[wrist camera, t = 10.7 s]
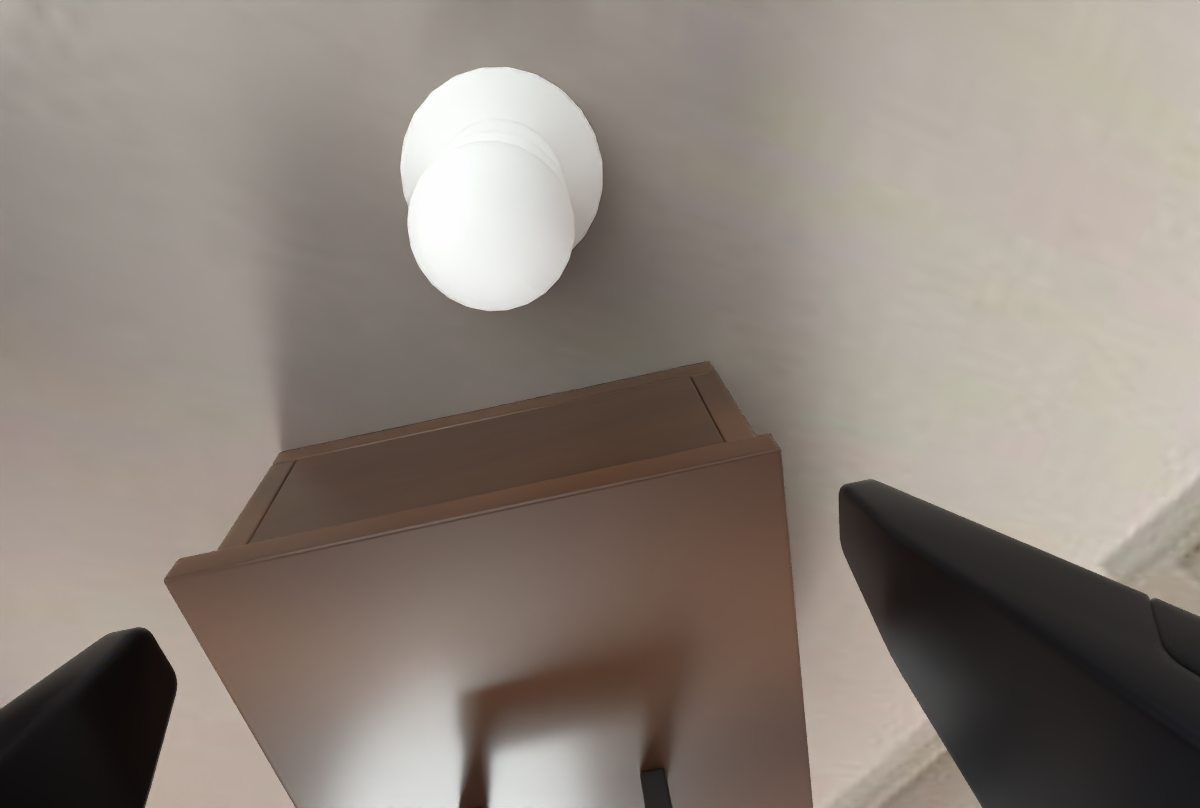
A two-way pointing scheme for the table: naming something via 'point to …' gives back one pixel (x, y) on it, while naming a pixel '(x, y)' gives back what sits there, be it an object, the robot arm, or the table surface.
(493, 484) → the chest
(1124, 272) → the table surface
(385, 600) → the lid
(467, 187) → the chess pawn
